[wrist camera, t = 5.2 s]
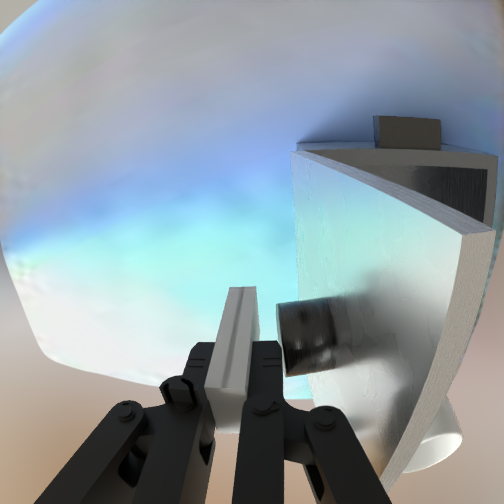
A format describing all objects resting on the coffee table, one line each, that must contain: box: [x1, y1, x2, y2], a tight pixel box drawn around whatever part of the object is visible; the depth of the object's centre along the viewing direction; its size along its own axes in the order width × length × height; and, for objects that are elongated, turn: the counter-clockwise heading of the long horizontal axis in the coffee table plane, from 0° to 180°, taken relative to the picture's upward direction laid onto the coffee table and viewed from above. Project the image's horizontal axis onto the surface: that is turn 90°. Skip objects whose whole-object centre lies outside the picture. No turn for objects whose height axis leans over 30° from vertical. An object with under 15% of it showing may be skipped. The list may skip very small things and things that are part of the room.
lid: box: [276, 151, 496, 493], centre depth 13 cm, size 14×14×3 cm
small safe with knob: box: [297, 116, 498, 228], centre depth 22 cm, size 18×14×8 cm
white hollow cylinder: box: [402, 396, 463, 473], centre depth 24 cm, size 7×7×15 cm
